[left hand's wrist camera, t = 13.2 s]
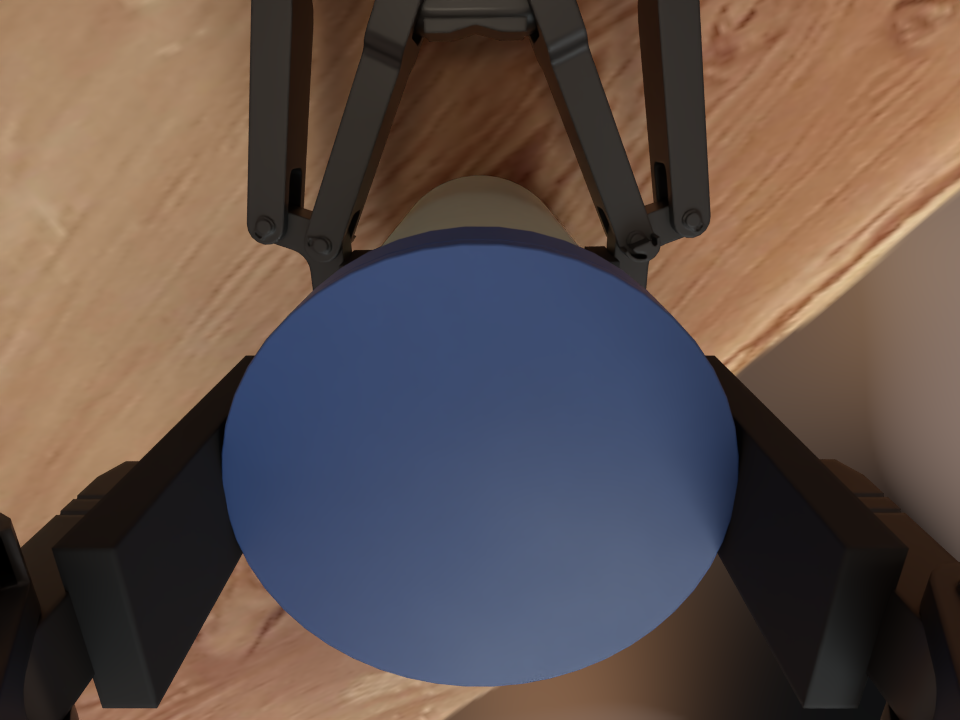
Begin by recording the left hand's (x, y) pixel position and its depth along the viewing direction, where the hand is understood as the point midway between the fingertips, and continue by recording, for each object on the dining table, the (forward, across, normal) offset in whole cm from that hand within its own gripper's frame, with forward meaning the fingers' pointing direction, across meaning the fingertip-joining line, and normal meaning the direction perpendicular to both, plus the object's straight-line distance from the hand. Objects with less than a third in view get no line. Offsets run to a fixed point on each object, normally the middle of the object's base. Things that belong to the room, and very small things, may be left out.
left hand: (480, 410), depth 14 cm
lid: (-3, 0, 0) cm, 3 cm away
